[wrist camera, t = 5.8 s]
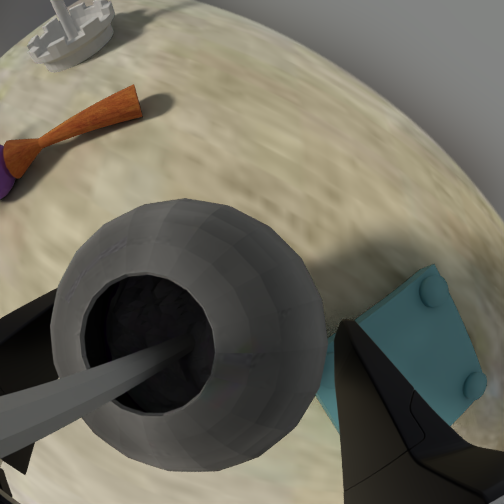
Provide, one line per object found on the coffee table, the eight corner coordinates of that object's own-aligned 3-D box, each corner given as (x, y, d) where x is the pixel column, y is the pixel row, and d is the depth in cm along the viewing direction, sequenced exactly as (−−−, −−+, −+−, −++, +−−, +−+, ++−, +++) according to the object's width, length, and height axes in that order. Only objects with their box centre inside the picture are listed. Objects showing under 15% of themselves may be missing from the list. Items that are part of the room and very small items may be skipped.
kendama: (138, 106, 19) (-43, 204, 15) (149, 140, 25) (-10, 217, 21) (127, 59, 19) (-40, 153, 15) (138, 96, 25) (-11, 171, 21)
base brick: (472, 383, 17) (492, 386, 15) (366, 476, 16) (379, 491, 13) (420, 269, 20) (439, 261, 17) (293, 359, 18) (301, 364, 16)
